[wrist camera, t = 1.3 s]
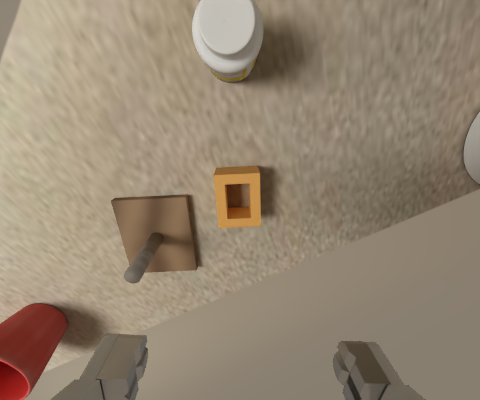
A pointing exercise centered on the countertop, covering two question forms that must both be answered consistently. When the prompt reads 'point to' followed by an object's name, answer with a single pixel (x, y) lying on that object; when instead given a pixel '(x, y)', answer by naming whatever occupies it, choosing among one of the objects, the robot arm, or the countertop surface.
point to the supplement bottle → (228, 37)
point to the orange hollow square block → (239, 214)
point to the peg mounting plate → (155, 234)
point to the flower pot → (27, 348)
